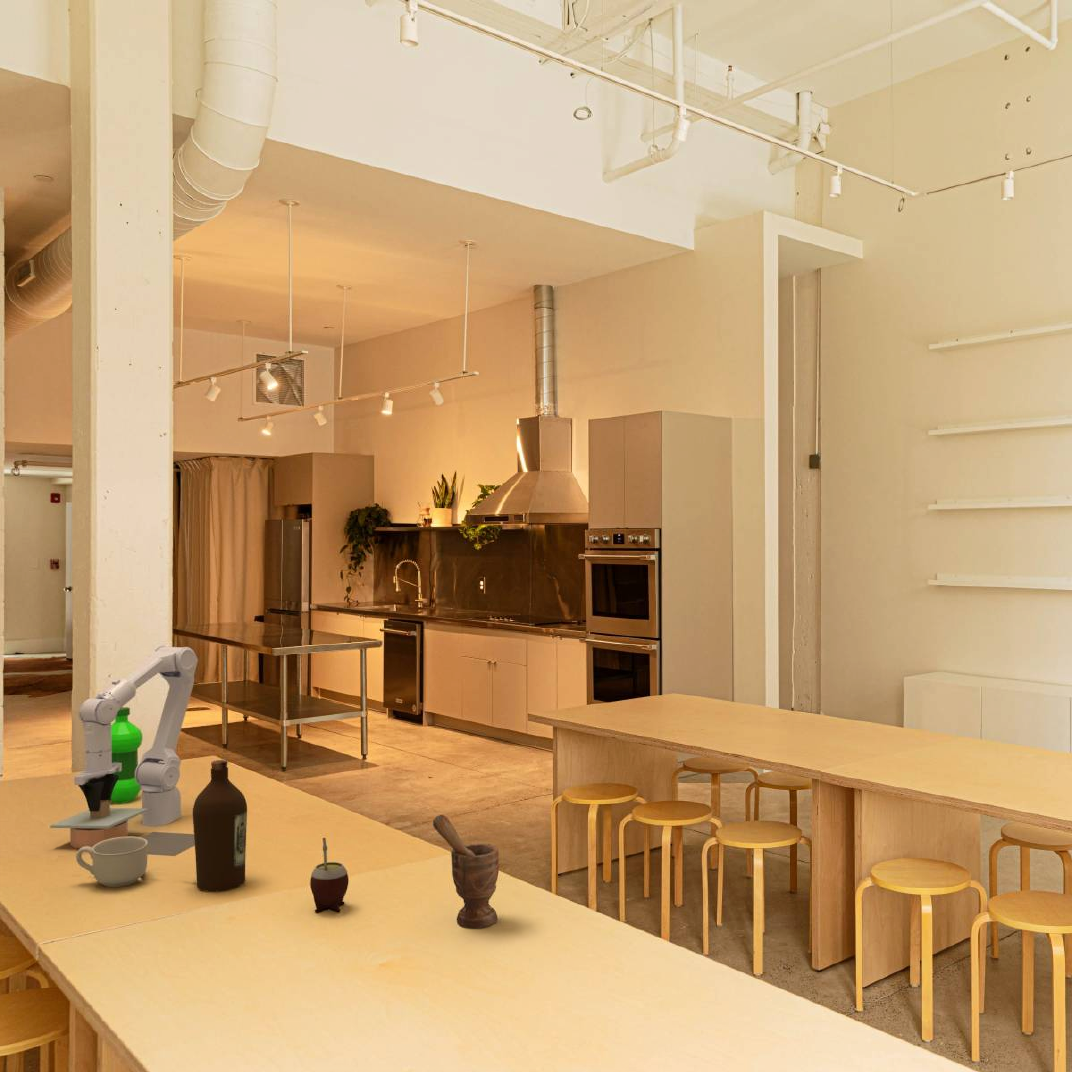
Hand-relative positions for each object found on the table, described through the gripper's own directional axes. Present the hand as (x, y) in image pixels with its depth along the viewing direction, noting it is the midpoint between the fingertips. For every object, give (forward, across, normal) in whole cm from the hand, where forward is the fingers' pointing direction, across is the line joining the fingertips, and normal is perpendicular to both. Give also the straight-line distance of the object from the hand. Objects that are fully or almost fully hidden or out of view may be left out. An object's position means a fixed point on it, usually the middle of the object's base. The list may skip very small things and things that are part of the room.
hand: (99, 809), depth 240 cm
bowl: (+8, 0, 0) cm, 8 cm away
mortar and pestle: (+8, -31, -99) cm, 104 cm away
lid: (+2, 0, 0) cm, 2 cm away
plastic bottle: (+8, +37, +20) cm, 43 cm away
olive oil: (+8, -20, -43) cm, 48 cm away
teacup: (+8, -23, -20) cm, 32 cm away
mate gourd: (+8, -29, -71) cm, 77 cm away
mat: (+8, +1, -16) cm, 18 cm away
